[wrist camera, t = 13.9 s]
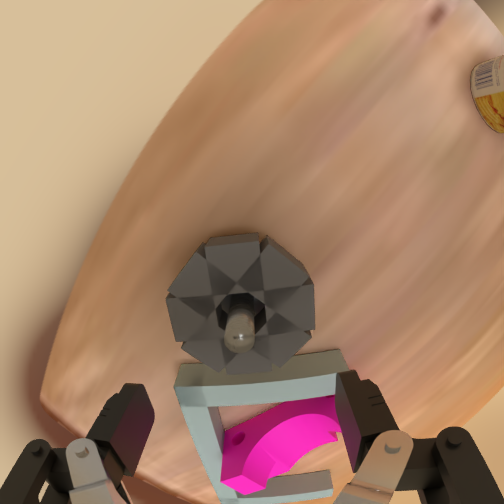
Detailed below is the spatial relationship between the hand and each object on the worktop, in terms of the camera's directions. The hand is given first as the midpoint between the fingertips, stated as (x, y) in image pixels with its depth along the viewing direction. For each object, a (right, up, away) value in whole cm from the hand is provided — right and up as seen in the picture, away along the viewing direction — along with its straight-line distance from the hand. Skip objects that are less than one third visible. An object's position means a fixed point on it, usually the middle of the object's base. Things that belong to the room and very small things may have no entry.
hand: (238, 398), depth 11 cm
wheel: (0, +3, +9) cm, 10 cm away
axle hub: (0, +4, +13) cm, 14 cm away
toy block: (+5, -12, +18) cm, 22 cm away
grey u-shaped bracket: (+3, -15, +18) cm, 24 cm away
